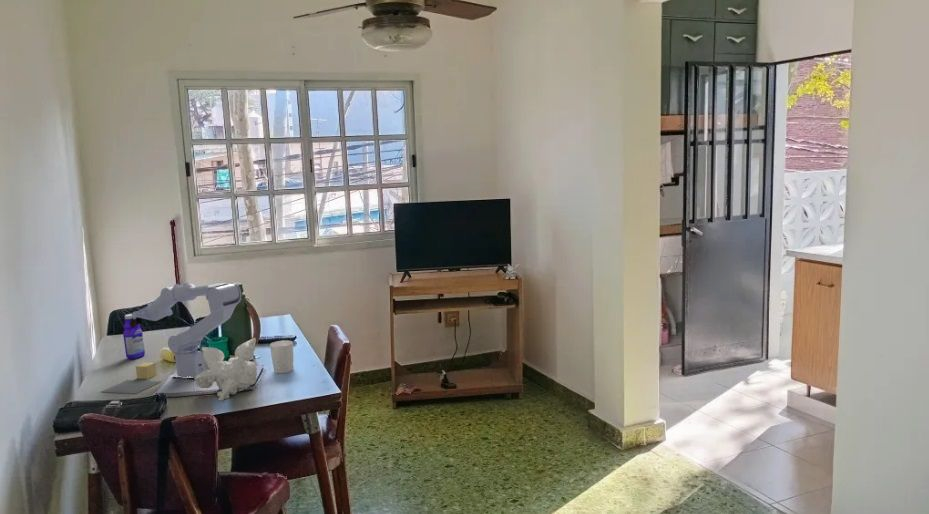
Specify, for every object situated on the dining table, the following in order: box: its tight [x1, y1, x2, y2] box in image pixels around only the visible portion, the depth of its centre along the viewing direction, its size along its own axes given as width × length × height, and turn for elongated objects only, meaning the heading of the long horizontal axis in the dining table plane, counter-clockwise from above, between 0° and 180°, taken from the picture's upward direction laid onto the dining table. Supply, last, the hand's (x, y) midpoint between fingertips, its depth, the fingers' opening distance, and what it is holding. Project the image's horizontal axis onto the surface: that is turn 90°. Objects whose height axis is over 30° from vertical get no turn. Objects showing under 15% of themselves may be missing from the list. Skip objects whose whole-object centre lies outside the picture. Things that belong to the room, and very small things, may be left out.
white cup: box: [269, 339, 294, 374], centre depth 235 cm, size 8×8×10 cm
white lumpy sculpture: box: [194, 337, 258, 402], centre depth 216 cm, size 19×20×20 cm
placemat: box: [100, 379, 162, 395], centre depth 225 cm, size 14×12×1 cm
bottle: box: [122, 313, 146, 360], centre depth 261 cm, size 7×6×17 cm
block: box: [135, 362, 158, 380], centre depth 236 cm, size 4×4×4 cm
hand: (141, 324), depth 243 cm, fingers open, 7 cm apart
